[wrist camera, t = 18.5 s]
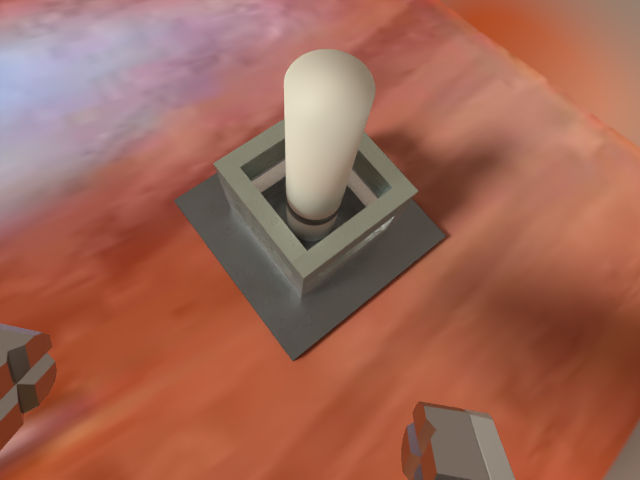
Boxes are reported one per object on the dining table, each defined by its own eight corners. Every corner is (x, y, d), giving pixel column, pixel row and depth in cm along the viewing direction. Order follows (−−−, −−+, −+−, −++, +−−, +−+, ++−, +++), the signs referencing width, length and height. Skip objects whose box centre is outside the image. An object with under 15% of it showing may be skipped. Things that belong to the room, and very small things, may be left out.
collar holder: (442, 238, 33) (488, 200, 25) (292, 361, 30) (292, 360, 22) (325, 108, 36) (334, 38, 29) (176, 204, 33) (139, 153, 25)
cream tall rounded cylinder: (345, 222, 32) (395, 95, 17) (306, 251, 31) (322, 143, 16) (315, 186, 33) (336, 34, 18) (275, 213, 32) (263, 76, 17)
